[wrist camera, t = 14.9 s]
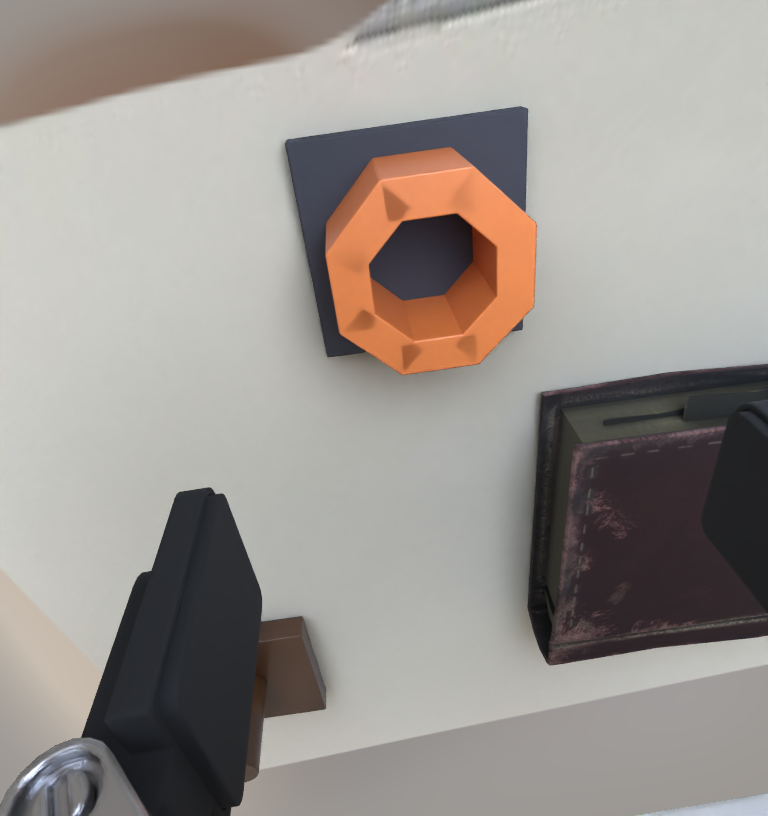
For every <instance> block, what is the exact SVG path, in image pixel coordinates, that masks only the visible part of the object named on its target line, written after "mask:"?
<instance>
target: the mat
mask: <svg viewBox="0 0 768 816" xmlns="http://www.w3.org/2000/svg"><path fill="white" fill-rule="evenodd" d="M527 127H528V109H527V108H524V107H521V106H520V107H513V108H506V109H499V110H492V111H485V112H478V113H471V114H464V115H457V116H450V117H443V118H436V119H429V120H422V121H415V122H408V123H401V124H394V125H387V126H380V127H373V128H366V129H359V130H351V131H344V132H337V133H330V134H323V135H316V136H309V137H302V138H295V139H288V140H287V141H286V143H285V146H286V151H287V156H288V161H289V166H290V171H291V176H292V181H293V186H294V191H295V196H296V202H297V207H298V212H299V217H300V222H301V227H302V232H303V237H304V242H305V247H306V252H307V257H308V262H309V267H310V272H311V277H312V282H313V287H314V292H315V297H316V302H317V307H318V312H319V317H320V322H321V327H322V332H323V337H324V342H325V348H326V353H327V357H336V356H343V355H350V354H356V353H363V352H366V351H365V350H363V349H362V348H360V347H359V346H357V345H356V344H354V343H353V342H351V341H350V340H348V339H347V338H345V337H344V336H342V335H341V334H340V333H339V328H338V323H337V317H336V311H335V306H334V300H333V295H332V289H331V284H330V278H329V273H328V267H327V262H326V256H325V252H326V223H327V221H328V220H329V218H330V217H331V215H332V214H333V213H334V211H335V210H336V208H337V207H338V205H339V204H340V203H341V201H342V200H343V198H344V197H345V196H346V194H347V193H348V191H349V190H350V188H351V187H352V186H353V184H354V183H355V181H356V180H357V179H358V177H359V176H360V174H361V173H362V172H363V170H364V169H365V167H366V166H367V164H368V163H369V162H370V160H371V159H372V158H376V157H383V156H390V155H397V154H404V153H411V152H418V151H425V150H432V149H439V148H446V147H451V148H453V149H454V150H455V151H456V152H458V153H459V154H460V155H461V156H462V157H464V158H465V159H466V160H467V161H468V162H470V163H471V164H472V165H473V166H474V167H475V168H477V169H478V170H479V171H480V172H481V173H482V174H483V175H484V176H485V177H486V178H488V179H489V180H490V181H491V182H492V183H493V184H494V185H495V186H496V187H497V188H499V189H500V190H501V191H502V192H503V193H504V194H505V195H506V196H507V197H508V198H509V199H511V200H512V201H513V202H514V203H515V204H516V205H517V206H518V207H519V208H520V209H522V210H523V211H524V212H525V208H526V168H527ZM472 262H473V236H472V226H471V225H470V224H469V223H468V222H467V221H465V220H464V219H463V218H462V217H461V216H459V215H458V214H450V215H443V216H436V217H429V218H422V219H415V220H408V221H402V222H401V224H400V225H399V226H398V227H397V229H396V230H395V231H394V233H393V234H392V235H391V237H390V238H389V239H388V240H387V242H386V243H385V244H384V246H383V247H382V248H381V250H380V251H379V252H378V253H377V255H376V256H375V257H374V259H373V260H372V261H371V262H370V264H369V271H370V277H371V278H372V279H373V280H375V281H376V282H378V283H379V284H380V285H382V286H383V287H384V288H386V289H387V290H389V291H390V292H391V293H393V294H394V295H396V296H397V297H398V298H400V299H401V300H402V301H405V300H412V299H419V298H426V297H433V296H440V295H444V294H445V293H446V292H447V291H448V290H449V289H450V287H451V286H452V285H453V284H454V283H455V282H456V281H457V279H458V278H459V277H460V276H461V275H462V274H463V272H464V271H465V270H466V269H467V268H468V267H469V265H470V264H471V263H472ZM522 328H523V319H522V320H521V321H520V322H519V323H518V324H517V325H516V326H515V327H514V328H513V329H512V330H511V331H517V330H522Z"/></svg>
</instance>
